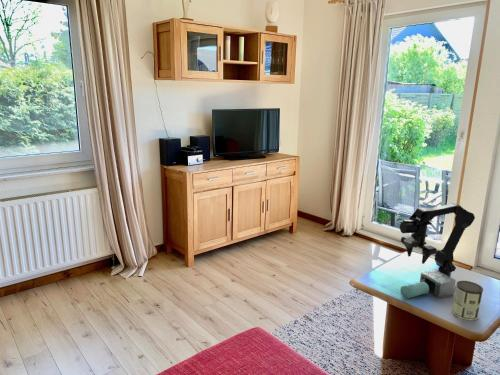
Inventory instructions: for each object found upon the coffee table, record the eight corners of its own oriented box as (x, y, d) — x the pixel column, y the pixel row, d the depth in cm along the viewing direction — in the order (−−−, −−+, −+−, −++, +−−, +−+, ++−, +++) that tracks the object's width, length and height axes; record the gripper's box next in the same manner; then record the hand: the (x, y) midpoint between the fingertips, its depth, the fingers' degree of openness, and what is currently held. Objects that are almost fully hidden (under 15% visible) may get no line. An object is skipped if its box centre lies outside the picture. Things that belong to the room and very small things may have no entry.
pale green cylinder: (418, 290, 186) (420, 279, 185) (428, 296, 181) (430, 285, 179) (399, 294, 181) (401, 283, 180) (409, 300, 176) (410, 289, 175)
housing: (433, 283, 194) (435, 269, 192) (453, 294, 183) (455, 280, 181) (418, 286, 190) (420, 272, 188) (437, 298, 179) (440, 283, 177)
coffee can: (464, 306, 173) (469, 279, 170) (483, 318, 164) (489, 290, 160) (446, 309, 170) (451, 281, 167) (464, 322, 161) (470, 293, 157)
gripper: (394, 227, 195) (391, 255, 199) (423, 240, 178) (418, 270, 182) (410, 225, 199) (406, 252, 203) (439, 238, 182) (434, 266, 186)
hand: (415, 259), depth 193 cm, fingers open, 9 cm apart
